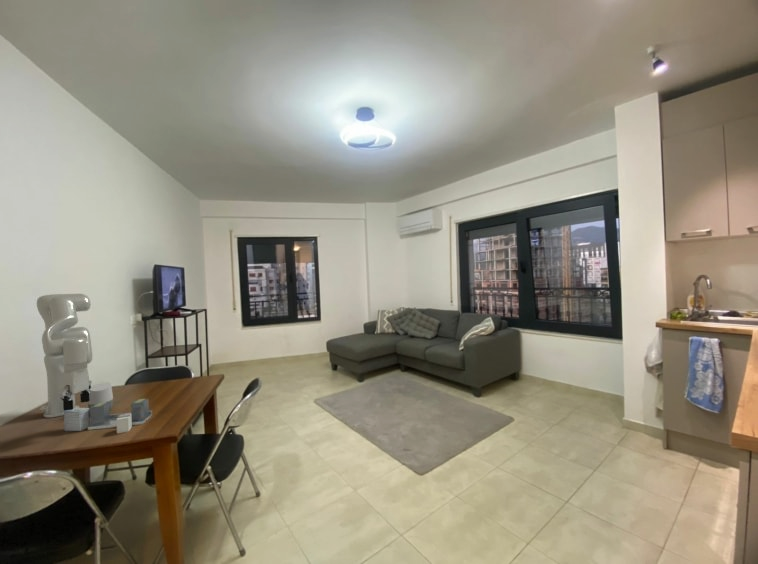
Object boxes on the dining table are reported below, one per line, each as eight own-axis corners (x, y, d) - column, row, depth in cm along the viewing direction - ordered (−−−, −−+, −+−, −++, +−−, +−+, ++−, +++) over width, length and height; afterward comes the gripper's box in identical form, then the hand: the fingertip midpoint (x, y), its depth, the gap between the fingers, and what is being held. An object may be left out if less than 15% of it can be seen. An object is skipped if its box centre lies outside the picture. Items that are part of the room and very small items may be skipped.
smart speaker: (84, 417, 150) (84, 388, 150) (92, 410, 158) (91, 383, 158) (109, 413, 154) (109, 385, 154) (116, 407, 162) (115, 380, 162)
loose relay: (116, 433, 132) (116, 419, 132) (120, 429, 137) (119, 414, 137) (128, 431, 134) (128, 416, 134) (131, 426, 139) (131, 412, 139)
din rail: (87, 430, 137) (86, 408, 137) (101, 421, 145) (100, 400, 145) (142, 424, 141) (141, 403, 141) (152, 415, 150) (151, 396, 150)
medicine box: (90, 426, 140) (90, 407, 140) (80, 431, 135) (79, 411, 135) (74, 426, 141) (74, 407, 141) (63, 431, 136) (63, 411, 136)
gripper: (80, 363, 146) (81, 400, 145) (49, 372, 129) (50, 414, 128) (98, 361, 147) (100, 398, 147) (70, 370, 130) (72, 412, 130)
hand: (77, 405), depth 138 cm, fingers open, 9 cm apart
